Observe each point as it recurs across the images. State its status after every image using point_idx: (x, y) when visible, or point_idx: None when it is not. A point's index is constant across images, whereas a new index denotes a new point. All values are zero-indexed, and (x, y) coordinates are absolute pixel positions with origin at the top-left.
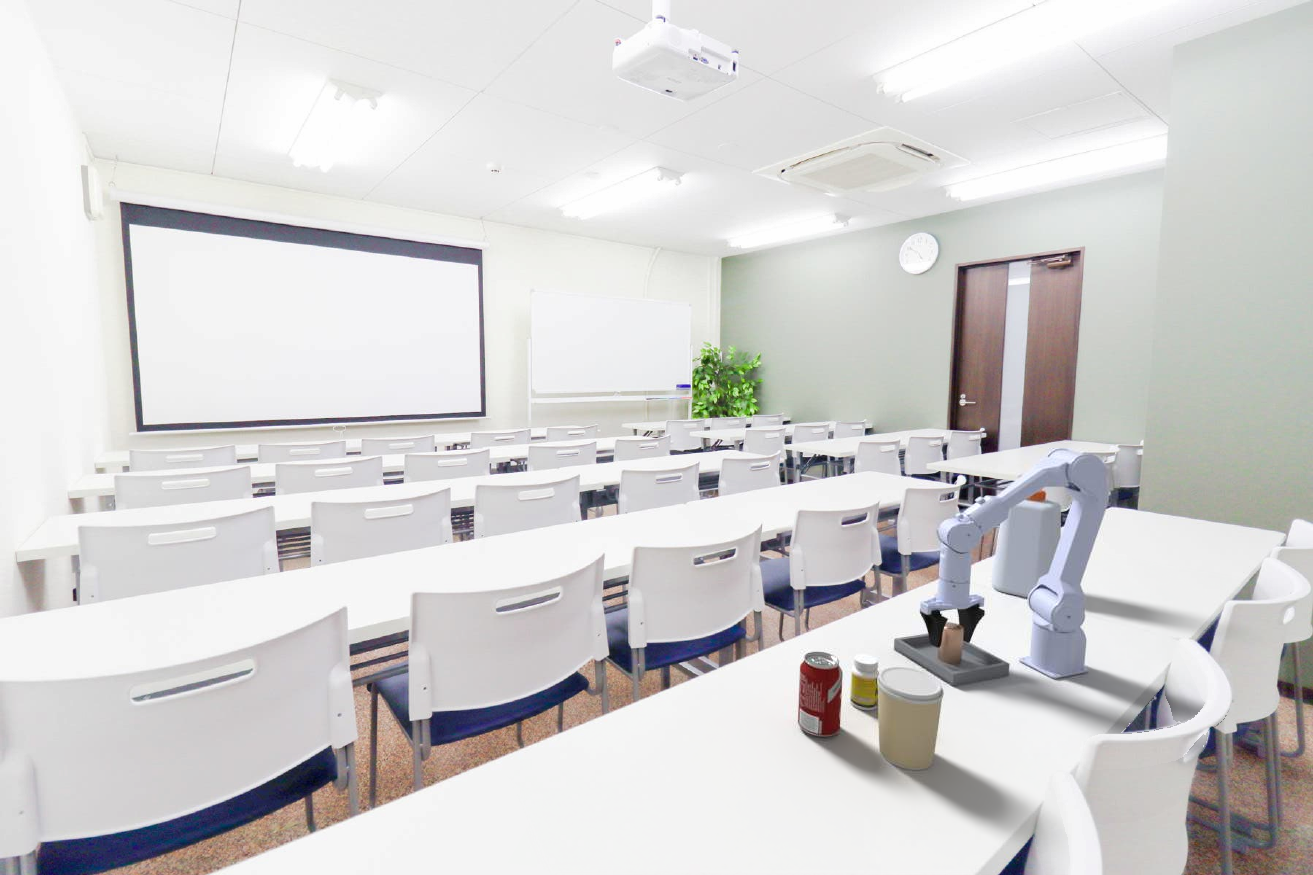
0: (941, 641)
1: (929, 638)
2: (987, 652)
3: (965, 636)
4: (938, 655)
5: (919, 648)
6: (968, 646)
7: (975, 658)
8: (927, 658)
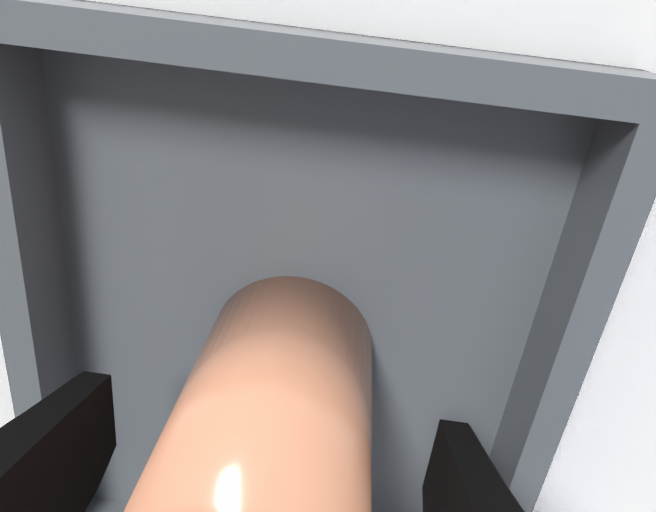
0: (83, 507)
1: (49, 396)
2: (526, 507)
3: (433, 509)
4: (215, 322)
5: (213, 125)
6: (542, 366)
7: (476, 410)
8: (13, 392)
